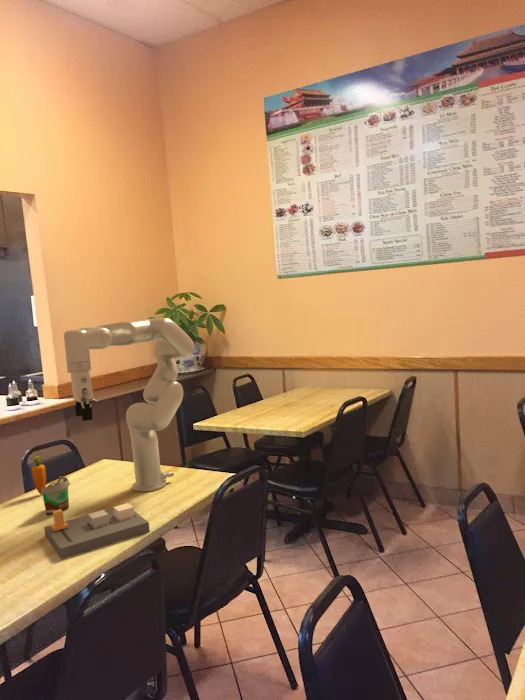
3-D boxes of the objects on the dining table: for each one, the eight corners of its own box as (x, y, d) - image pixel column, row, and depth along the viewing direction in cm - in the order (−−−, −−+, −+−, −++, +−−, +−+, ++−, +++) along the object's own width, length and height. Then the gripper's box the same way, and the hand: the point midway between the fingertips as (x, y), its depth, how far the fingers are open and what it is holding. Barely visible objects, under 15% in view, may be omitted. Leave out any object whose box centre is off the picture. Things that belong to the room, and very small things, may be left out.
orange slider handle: (65, 523, 180) (63, 507, 180) (68, 527, 177) (66, 510, 177) (50, 527, 178) (48, 511, 177) (53, 531, 175) (51, 514, 174)
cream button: (129, 515, 187) (128, 502, 186) (134, 519, 183) (133, 507, 182) (114, 519, 184) (113, 507, 184) (119, 523, 180) (118, 511, 180)
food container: (60, 516, 196) (57, 487, 195) (44, 516, 197) (40, 487, 196) (79, 502, 208) (75, 475, 207) (63, 502, 209) (60, 475, 208)
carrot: (36, 493, 222) (31, 454, 220) (50, 491, 222) (45, 453, 221) (32, 497, 217) (27, 458, 216) (46, 496, 218) (41, 457, 216)
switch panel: (126, 513, 194) (125, 504, 194) (149, 531, 177) (148, 521, 177) (45, 536, 180) (44, 526, 180) (61, 558, 163) (60, 548, 163)
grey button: (104, 522, 182) (103, 509, 182) (109, 526, 178) (108, 514, 178) (89, 526, 180) (87, 514, 179) (94, 531, 176) (92, 518, 175)
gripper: (96, 367, 189) (102, 419, 190) (84, 363, 204) (89, 412, 205) (72, 370, 185) (78, 423, 187) (62, 366, 200) (67, 415, 202)
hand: (84, 417), depth 196 cm, fingers open, 9 cm apart
